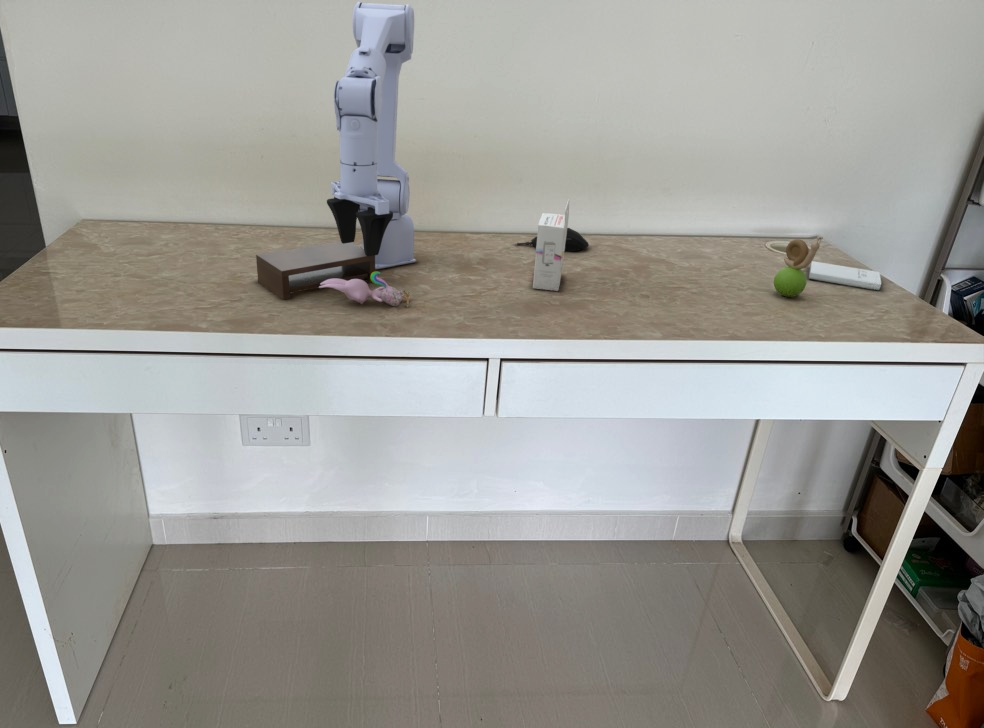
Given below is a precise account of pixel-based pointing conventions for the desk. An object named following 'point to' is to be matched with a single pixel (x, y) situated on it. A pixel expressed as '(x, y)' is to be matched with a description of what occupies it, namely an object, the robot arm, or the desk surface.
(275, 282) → the rack
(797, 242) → the snail figurine
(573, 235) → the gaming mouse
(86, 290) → the desk surface
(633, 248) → the desk surface
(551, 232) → the ink cartridge box
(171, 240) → the desk surface
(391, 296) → the rabbit figure
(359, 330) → the desk surface
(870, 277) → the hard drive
